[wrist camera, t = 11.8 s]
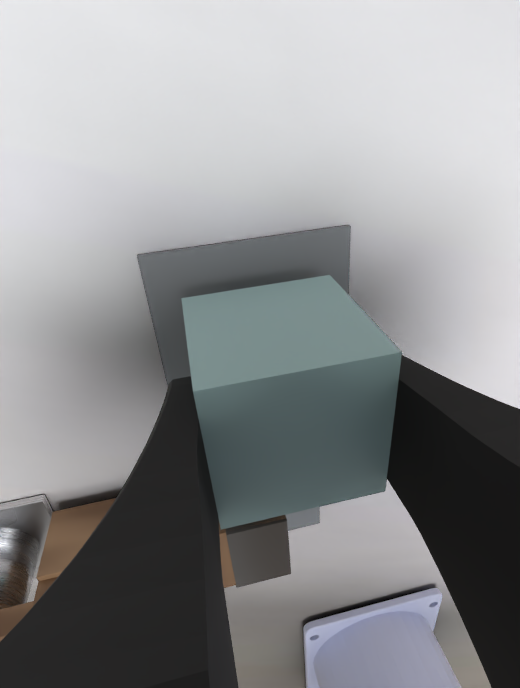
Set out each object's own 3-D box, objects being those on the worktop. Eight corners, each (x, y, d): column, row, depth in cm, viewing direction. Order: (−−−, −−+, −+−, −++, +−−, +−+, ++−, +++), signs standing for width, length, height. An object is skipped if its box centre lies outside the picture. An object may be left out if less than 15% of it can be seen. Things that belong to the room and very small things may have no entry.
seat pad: (343, 390, 15) (345, 392, 15) (177, 423, 15) (177, 426, 14) (348, 224, 12) (350, 225, 12) (137, 254, 11) (137, 256, 11)
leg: (-38, 589, 16) (-88, 715, 13) (-78, 540, 14) (-146, 669, 11) (274, 515, 17) (301, 610, 14) (269, 464, 16) (298, 557, 13)
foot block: (328, 391, 14) (385, 490, 10) (203, 416, 13) (220, 529, 10) (330, 275, 11) (402, 352, 8) (181, 298, 11) (192, 391, 8)
